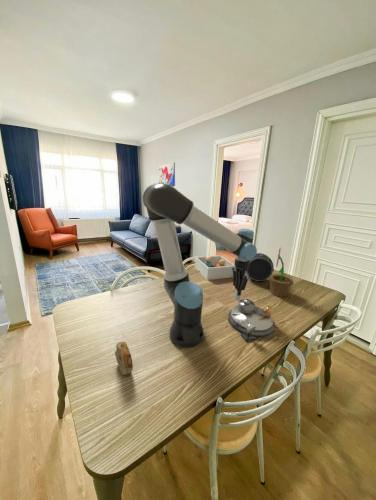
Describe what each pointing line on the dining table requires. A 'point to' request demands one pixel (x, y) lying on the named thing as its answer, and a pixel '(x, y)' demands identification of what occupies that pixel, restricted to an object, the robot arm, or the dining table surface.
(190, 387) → the dining table surface
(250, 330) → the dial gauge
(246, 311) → the cover
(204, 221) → the robot arm
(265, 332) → the turntable base
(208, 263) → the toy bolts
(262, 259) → the dark decorated bowl
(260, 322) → the turntable
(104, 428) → the dining table surface
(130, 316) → the dining table surface
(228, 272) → the parts crate
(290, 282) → the flowerpot
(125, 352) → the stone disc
